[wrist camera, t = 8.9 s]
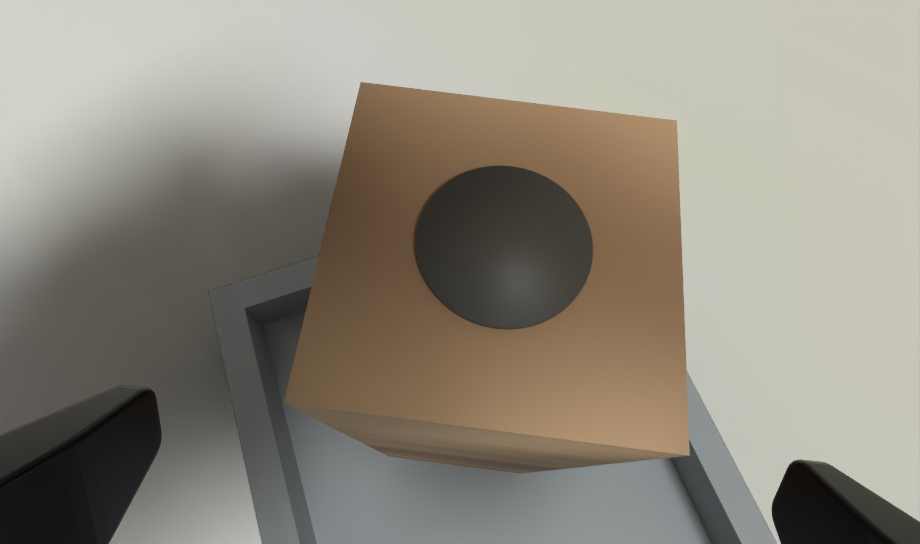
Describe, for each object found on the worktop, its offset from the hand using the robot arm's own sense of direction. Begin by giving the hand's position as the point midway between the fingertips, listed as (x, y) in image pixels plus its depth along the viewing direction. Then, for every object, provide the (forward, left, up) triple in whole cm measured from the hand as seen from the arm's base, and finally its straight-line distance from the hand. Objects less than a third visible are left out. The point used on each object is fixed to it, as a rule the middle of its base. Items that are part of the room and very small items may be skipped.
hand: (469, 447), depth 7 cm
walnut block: (+2, -1, -11) cm, 11 cm away
